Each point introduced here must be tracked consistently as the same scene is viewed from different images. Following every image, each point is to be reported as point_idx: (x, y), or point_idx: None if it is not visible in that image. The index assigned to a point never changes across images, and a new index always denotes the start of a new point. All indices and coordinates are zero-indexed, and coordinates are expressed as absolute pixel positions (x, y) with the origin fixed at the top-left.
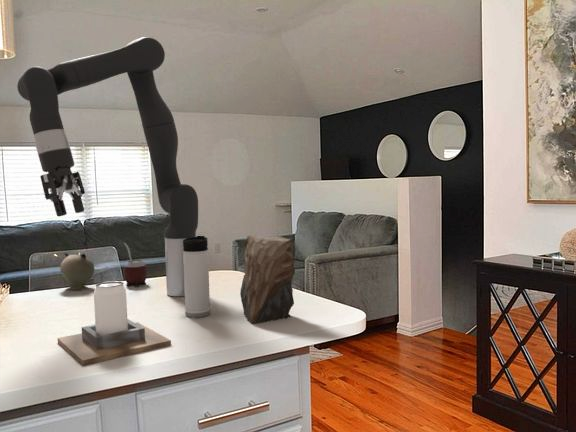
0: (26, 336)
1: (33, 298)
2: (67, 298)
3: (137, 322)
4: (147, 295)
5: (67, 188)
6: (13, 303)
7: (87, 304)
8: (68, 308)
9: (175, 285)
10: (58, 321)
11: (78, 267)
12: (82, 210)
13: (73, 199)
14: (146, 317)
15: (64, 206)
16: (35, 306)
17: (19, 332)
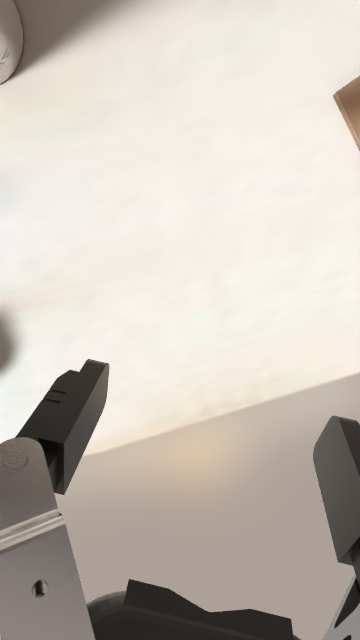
0: (340, 341)
1: None
2: (29, 352)
3: (337, 92)
4: (3, 149)
5: (230, 619)
6: None
7: (90, 290)
8: (123, 323)
9: (2, 30)
10: (235, 312)
11: None
12: (108, 366)
13: (65, 482)
14: (244, 93)
15: (358, 461)
16: None
17: (305, 364)
